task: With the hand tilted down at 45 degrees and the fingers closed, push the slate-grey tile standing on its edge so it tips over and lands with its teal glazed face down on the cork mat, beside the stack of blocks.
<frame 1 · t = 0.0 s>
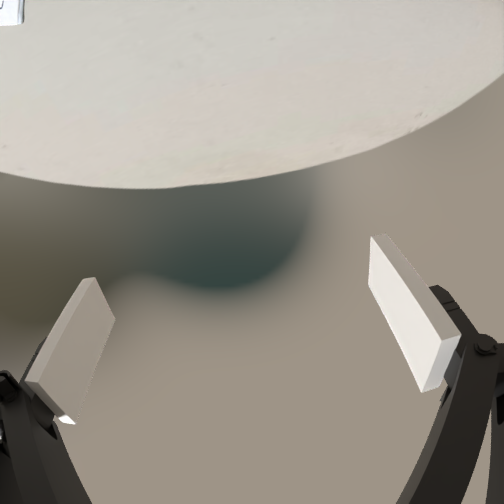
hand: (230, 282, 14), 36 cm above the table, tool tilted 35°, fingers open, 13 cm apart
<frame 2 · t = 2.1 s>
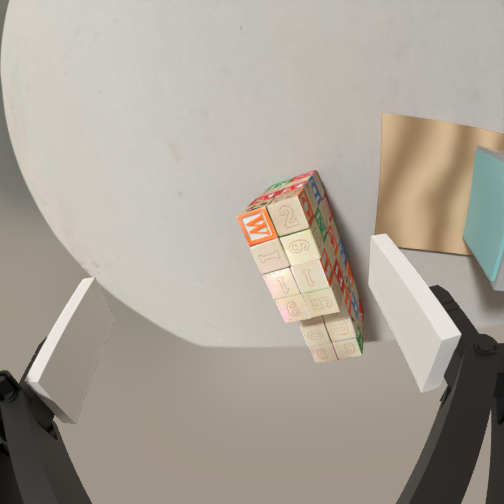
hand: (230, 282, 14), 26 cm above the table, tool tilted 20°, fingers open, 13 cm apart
stack of blocks: (322, 252, 41), on the table
tile: (484, 195, 30), point 1 cm above the table, touching mat
mat: (449, 189, 32), on the table
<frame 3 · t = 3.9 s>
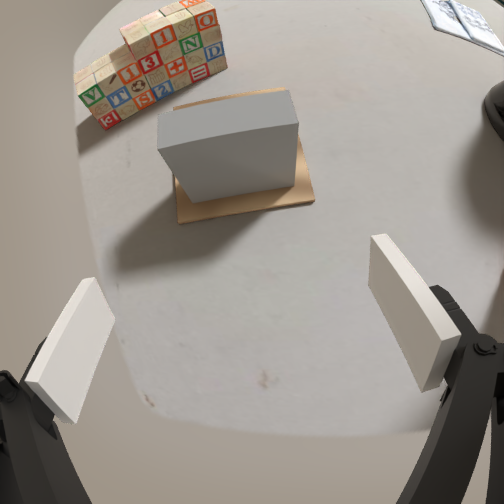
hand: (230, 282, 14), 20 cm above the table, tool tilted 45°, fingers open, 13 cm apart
stack of blocks: (160, 87, 43), on the table
tile: (240, 179, 37), point 1 cm above the table, touching mat
snack bag: (458, 22, 45), on the table
mat: (236, 147, 39), on the table
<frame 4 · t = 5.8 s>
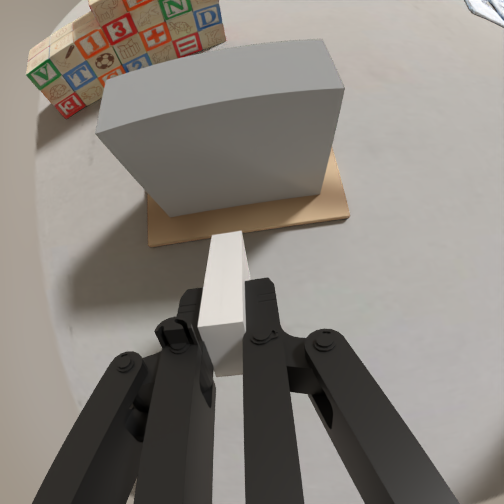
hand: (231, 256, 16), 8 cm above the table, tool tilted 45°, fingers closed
stack of blocks: (138, 65, 32), on the table
tile: (241, 182, 25), point 1 cm above the table, touching mat
snack bag: (493, 10, 33), on the table
mat: (235, 137, 27), on the table
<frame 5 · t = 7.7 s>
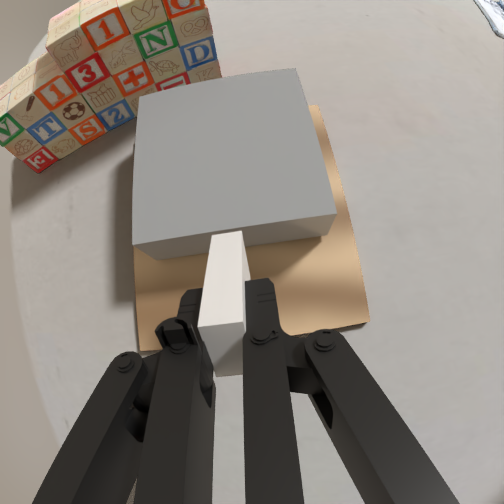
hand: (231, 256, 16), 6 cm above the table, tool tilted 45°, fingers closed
stack of blocks: (118, 107, 28), on the table
tile: (235, 239, 20), point 3 cm above the table, tilted 90°, touching mat
mat: (237, 215, 23), on the table
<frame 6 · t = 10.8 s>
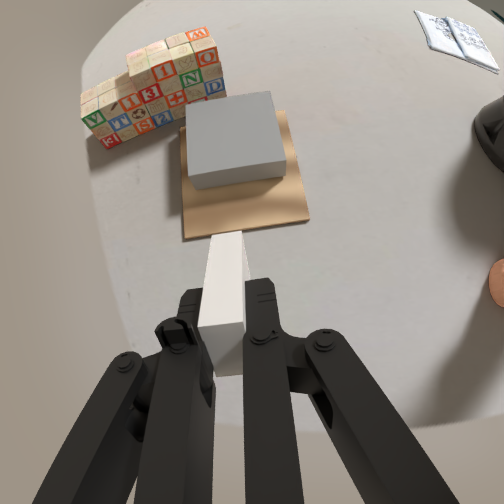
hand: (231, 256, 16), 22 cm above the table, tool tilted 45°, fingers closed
stack of blocks: (162, 113, 47), on the table
tile: (238, 175, 39), point 3 cm above the table, tilted 90°, touching mat
snack bag: (454, 40, 50), on the table
mat: (238, 168, 43), on the table
salt shaker: (503, 283, 35), on the table
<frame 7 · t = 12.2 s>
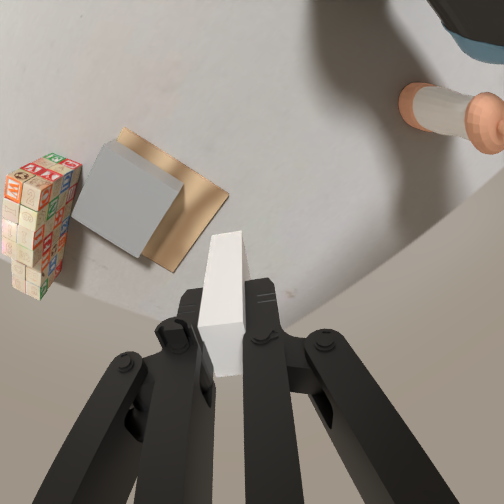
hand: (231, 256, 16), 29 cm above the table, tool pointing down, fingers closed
stack of blocks: (55, 215, 45), on the table
tile: (159, 221, 43), point 3 cm above the table, tilted 90°, touching mat
mat: (148, 203, 45), on the table
salt shaker: (417, 105, 39), on the table
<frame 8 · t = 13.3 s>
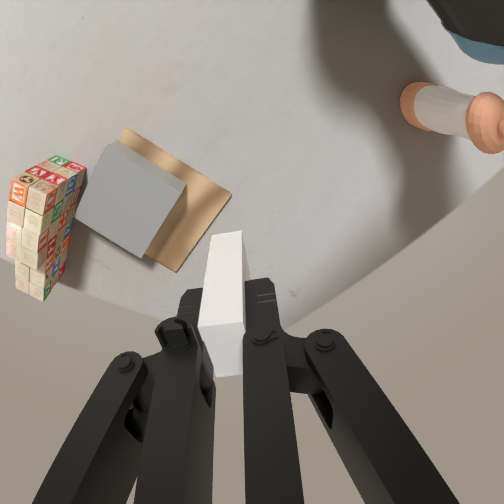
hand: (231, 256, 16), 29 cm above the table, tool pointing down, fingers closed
stack of blocks: (59, 217, 46), on the table
tile: (162, 221, 44), point 3 cm above the table, tilted 90°, touching mat
mat: (151, 203, 45), on the table
salt shaker: (419, 104, 39), on the table
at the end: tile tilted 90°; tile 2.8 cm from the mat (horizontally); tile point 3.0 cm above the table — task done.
